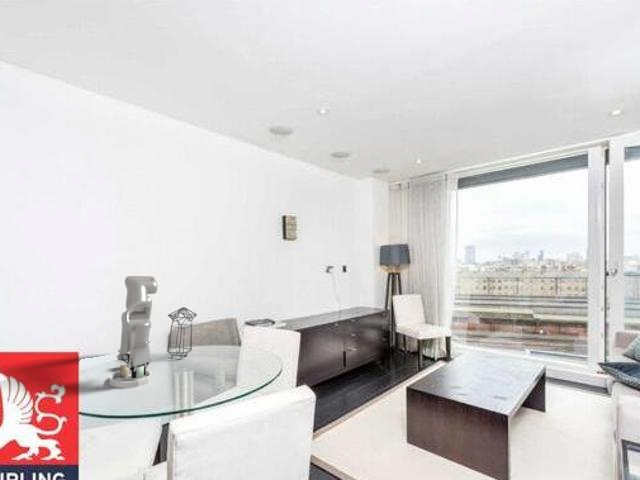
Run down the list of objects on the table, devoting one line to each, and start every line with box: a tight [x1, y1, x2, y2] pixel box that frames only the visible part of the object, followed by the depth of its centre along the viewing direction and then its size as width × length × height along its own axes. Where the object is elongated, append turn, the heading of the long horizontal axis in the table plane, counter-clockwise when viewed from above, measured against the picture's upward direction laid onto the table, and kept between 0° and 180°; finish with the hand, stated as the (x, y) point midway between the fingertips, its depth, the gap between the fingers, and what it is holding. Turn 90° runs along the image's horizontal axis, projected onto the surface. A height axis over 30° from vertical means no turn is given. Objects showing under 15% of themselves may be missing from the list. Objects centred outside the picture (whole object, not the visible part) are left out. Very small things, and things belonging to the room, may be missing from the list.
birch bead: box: [119, 363, 130, 378], centre depth 198 cm, size 5×5×6 cm
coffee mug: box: [121, 351, 132, 367], centre depth 214 cm, size 12×9×10 cm
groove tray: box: [108, 368, 153, 389], centre depth 195 cm, size 21×21×3 cm
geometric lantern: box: [166, 306, 198, 360], centre depth 240 cm, size 16×16×35 cm
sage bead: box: [135, 364, 144, 379], centre depth 192 cm, size 5×5×6 cm
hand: (138, 376), depth 192 cm, fingers closed on sage bead, 4 cm apart
